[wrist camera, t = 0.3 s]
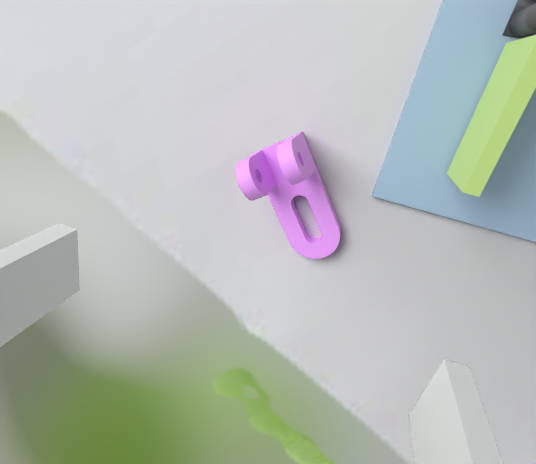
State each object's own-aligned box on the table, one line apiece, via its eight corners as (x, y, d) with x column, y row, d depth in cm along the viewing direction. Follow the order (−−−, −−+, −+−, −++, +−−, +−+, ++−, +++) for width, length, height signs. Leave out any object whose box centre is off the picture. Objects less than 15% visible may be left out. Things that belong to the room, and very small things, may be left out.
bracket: (254, 152, 36) (230, 167, 30) (302, 131, 34) (288, 142, 28) (301, 258, 39) (288, 291, 33) (348, 245, 37) (344, 277, 31)
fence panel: (506, 43, 26) (540, 33, 21) (522, 46, 26) (561, 37, 21) (446, 173, 31) (462, 192, 26) (460, 176, 31) (479, 196, 25)
